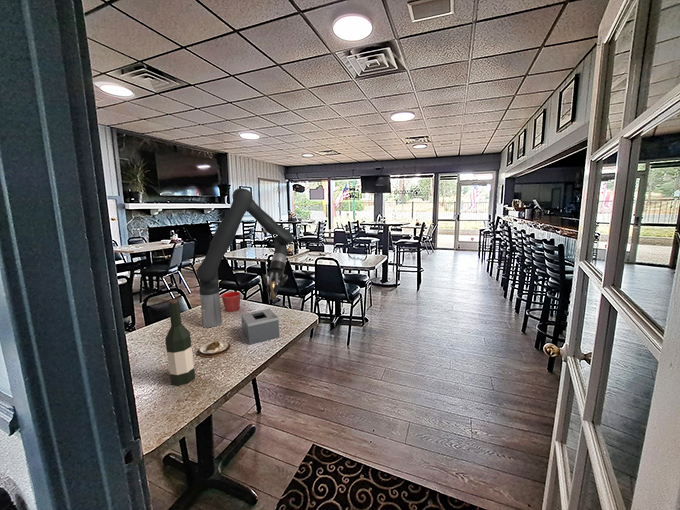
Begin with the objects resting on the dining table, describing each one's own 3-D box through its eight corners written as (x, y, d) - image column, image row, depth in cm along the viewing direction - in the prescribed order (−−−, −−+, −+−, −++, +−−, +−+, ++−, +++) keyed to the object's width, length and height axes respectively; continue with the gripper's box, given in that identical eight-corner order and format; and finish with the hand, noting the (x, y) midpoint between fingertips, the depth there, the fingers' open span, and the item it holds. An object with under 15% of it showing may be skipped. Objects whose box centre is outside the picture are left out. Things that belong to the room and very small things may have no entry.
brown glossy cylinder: (270, 300, 150) (269, 282, 149) (270, 298, 153) (269, 280, 152) (276, 299, 151) (275, 281, 150) (276, 297, 154) (275, 280, 153)
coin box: (249, 345, 135) (247, 324, 133) (242, 333, 147) (240, 314, 145) (279, 337, 141) (278, 317, 140) (270, 327, 153) (269, 308, 152)
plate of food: (212, 363, 121) (211, 354, 120) (188, 355, 128) (187, 346, 127) (240, 347, 133) (239, 338, 133) (217, 341, 140) (216, 332, 140)
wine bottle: (176, 373, 113) (166, 297, 108) (199, 371, 114) (190, 296, 109) (166, 386, 105) (154, 305, 100) (190, 385, 106) (180, 303, 101)
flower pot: (219, 312, 176) (217, 296, 174) (229, 306, 186) (227, 291, 185) (236, 313, 174) (234, 297, 172) (244, 306, 185) (243, 291, 183)
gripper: (263, 259, 157) (255, 288, 147) (289, 259, 155) (283, 289, 146) (267, 267, 163) (260, 295, 154) (292, 267, 162) (287, 296, 152)
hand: (271, 292), depth 150 cm, fingers closed on brown glossy cylinder, 3 cm apart
